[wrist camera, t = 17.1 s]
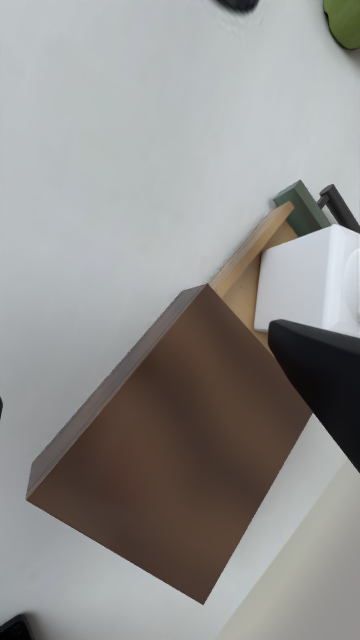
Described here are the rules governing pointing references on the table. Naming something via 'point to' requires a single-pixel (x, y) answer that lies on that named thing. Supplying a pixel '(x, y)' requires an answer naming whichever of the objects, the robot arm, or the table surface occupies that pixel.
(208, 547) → the cabinet
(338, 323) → the medicine bottle
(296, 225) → the drawer
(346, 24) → the plant pot
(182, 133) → the table surface
